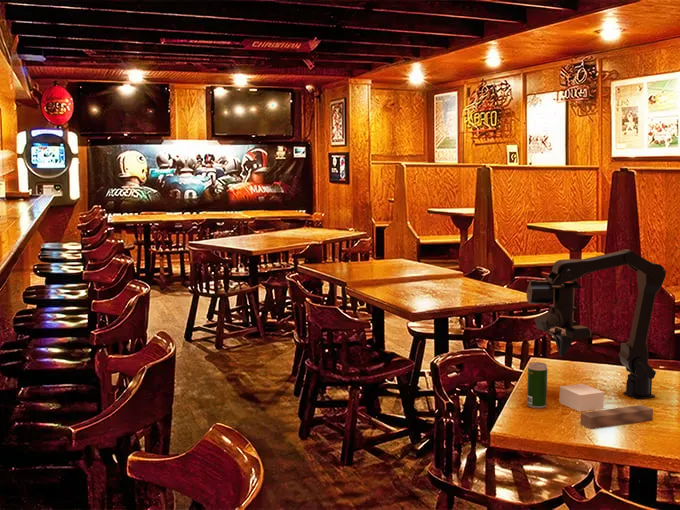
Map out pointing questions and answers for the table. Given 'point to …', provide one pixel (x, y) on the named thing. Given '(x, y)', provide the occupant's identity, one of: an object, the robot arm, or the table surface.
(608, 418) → the board
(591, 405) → the block
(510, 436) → the table surface
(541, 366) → the beer can
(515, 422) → the table surface
